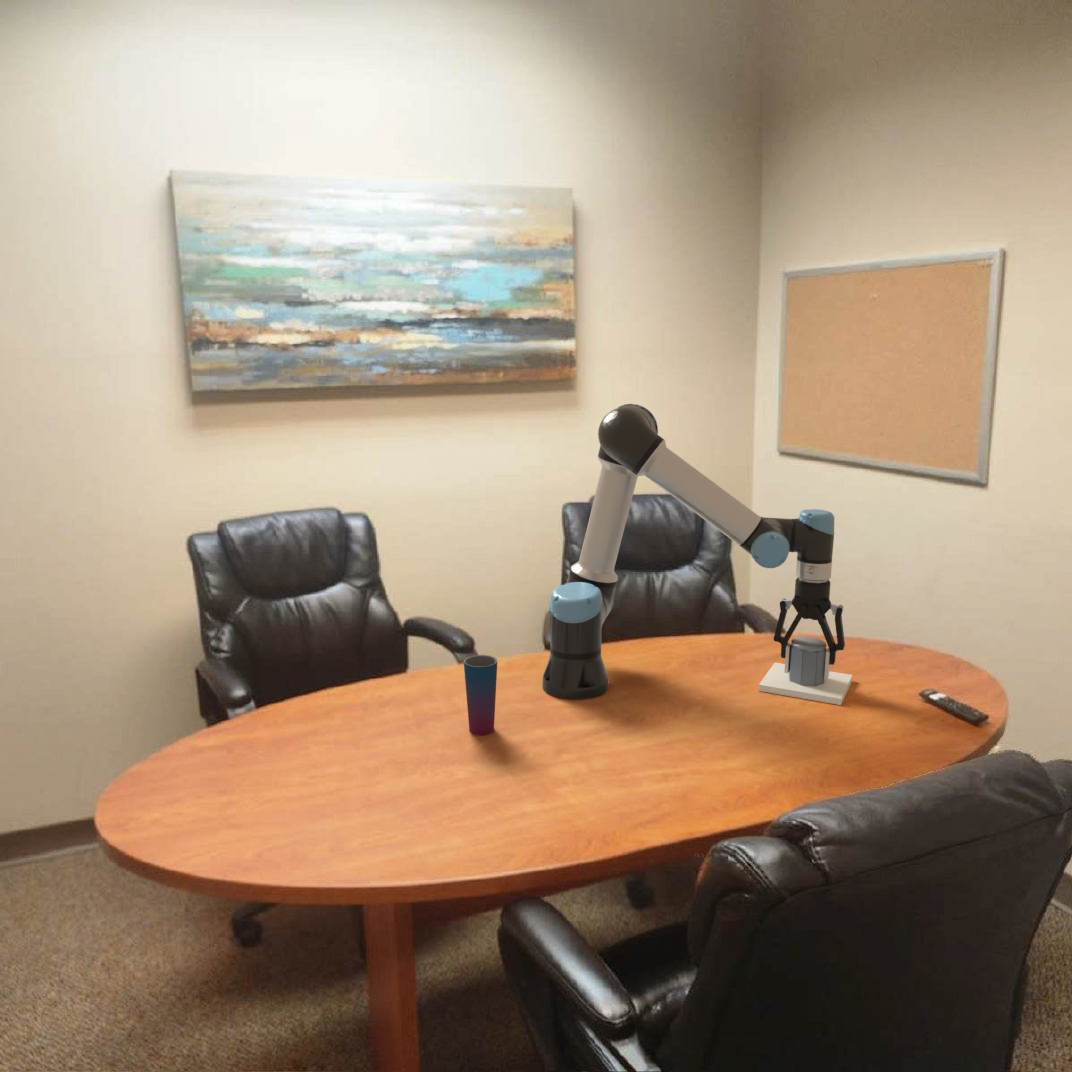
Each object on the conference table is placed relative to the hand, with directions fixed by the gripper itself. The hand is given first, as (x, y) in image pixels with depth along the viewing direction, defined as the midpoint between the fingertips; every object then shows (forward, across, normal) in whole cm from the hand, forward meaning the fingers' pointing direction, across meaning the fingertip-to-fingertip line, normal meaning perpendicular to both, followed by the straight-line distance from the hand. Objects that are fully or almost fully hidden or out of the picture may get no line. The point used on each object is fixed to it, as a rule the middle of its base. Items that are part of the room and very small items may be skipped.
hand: (806, 674), depth 203 cm
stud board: (+3, 0, 0) cm, 3 cm away
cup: (+3, -57, -52) cm, 77 cm away
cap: (+1, 0, 0) cm, 1 cm away
